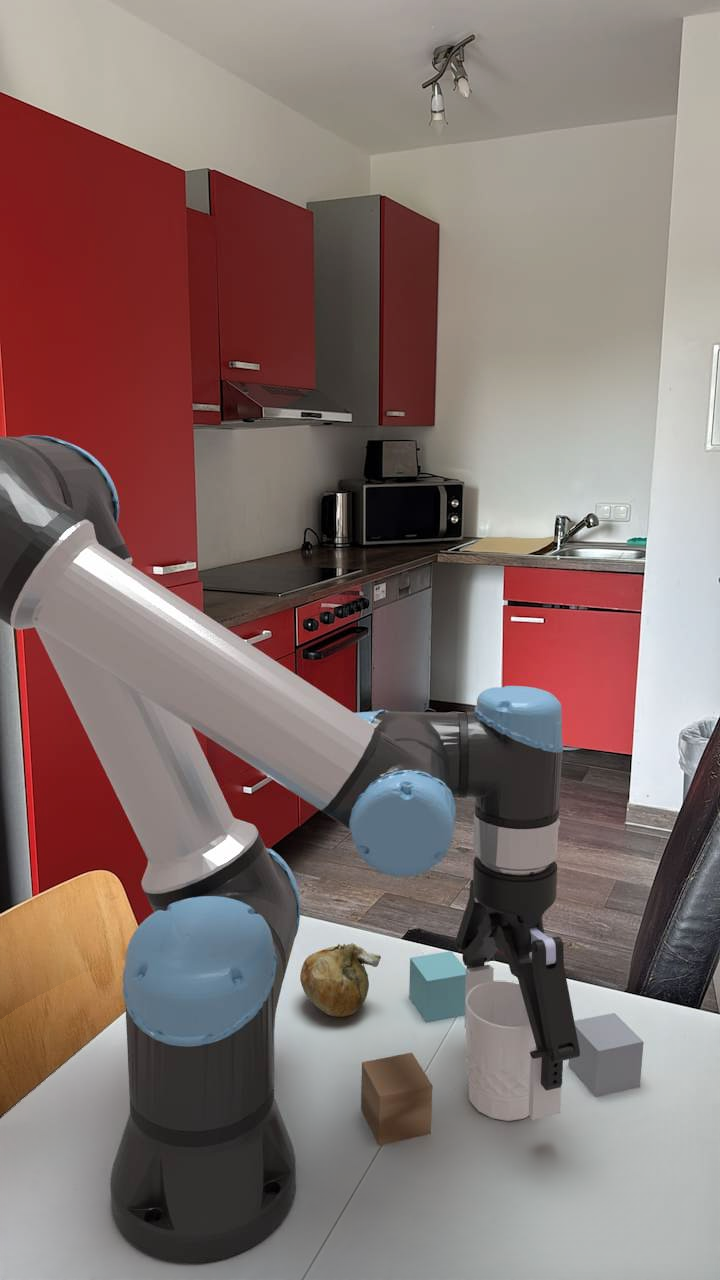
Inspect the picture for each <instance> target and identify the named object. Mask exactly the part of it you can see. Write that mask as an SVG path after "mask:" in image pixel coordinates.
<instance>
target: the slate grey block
mask: <svg viewBox="0 0 720 1280" xmlns="http://www.w3.org/2000/svg"><path fill="white" fill-rule="evenodd" d="M574 1022H575V1028H576V1033H577V1038H578V1044H579V1049H580V1056H579V1057H576V1058H572V1059H568V1067H569V1068H570V1069H571V1071H572V1072H573V1073H574V1074H575V1075H576V1076H577V1078H578V1079H579V1080H580V1081H581V1082H582V1083H583V1084H584V1085H585V1087H586V1089H588V1090H589V1092H590V1093H591V1094H592V1095H593V1096H594V1097H595V1098H597V1097H601V1096H605V1095H610V1094H615V1093H619V1092H623V1091H628V1090H632V1089H633V1090H634V1089H637V1088H640V1087H641V1076H642V1069H643V1068H642V1066H643V1055H644V1042H645V1041H644V1040H643V1039H642V1038H641V1037H640V1036H639V1035H637V1033H635V1031H634V1030H633V1029H632V1028H631V1027H629V1026H628V1025H627V1023H625V1022H624V1021H623V1020H622V1018H620V1017H619V1016H618V1015H617V1014H616V1013H615V1012H613V1013H608V1014H606V1013H605V1014H602V1015H597V1016H592V1017H591V1016H590V1017H587V1018H582V1019H577V1020H574Z"/></svg>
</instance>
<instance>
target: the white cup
mask: <svg viewBox="0 0 720 1280" xmlns="http://www.w3.org/2000/svg"><path fill="white" fill-rule="evenodd" d="M465 1005H466V1029H465V1057H466V1072H467V1092H468V1098H469V1099H468V1100H469V1101H470V1103H471V1104H472V1105H473V1107H474V1108H475V1109H476V1110H477V1111H478V1112H479V1113H481V1114H483V1115H485V1116H487V1117H489V1118H491V1119H495V1120H499V1121H506V1122H510V1121H518V1120H523V1119H526V1118H527V1117H530V1115H529V1087H530V1059H531V1055H530V1052H531V1048H534V1047H536V1044H535V1040H534V1036H533V1033H532V1029H531V1025H530V1022H529V1018H528V1014H527V1011H526V1007H525V1003H524V1000H523V996H522V992H521V989H520V985H519V981H518V982H517V981H513V980H502V979H501V980H493V981H489V982H485V983H482V984H479V985H477V986H475V987H473V988H472V989H471V990H470V991H469V992H468V994H467V996H466V1000H465Z"/></svg>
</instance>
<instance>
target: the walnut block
mask: <svg viewBox="0 0 720 1280" xmlns="http://www.w3.org/2000/svg"><path fill="white" fill-rule="evenodd" d="M360 1081H361V1083H360V1084H361V1085H360V1088H361V1089H360V1091H361V1092H360V1097H361V1098H360V1110H361V1113H362V1115H363V1116H364V1118H365V1120H366V1122H367V1124H368V1127H369V1129H370V1131H371V1132H372V1135H373V1137H374V1139H375V1141H376V1143H377V1145H378V1146H383V1145H388V1144H391V1143H392V1144H393V1143H397V1142H401V1141H406V1140H410V1139H414V1138H418V1137H423V1136H428V1135H431V1134H432V1114H433V1113H432V1110H433V1107H432V1106H433V1084H432V1082H431V1081H430V1079H429V1078H428V1076H427V1074H426V1072H425V1071H424V1069H423V1068H422V1066H421V1065H420V1063H419V1061H418V1059H417V1058H416V1057H415V1055H414V1053H413V1052H408V1053H402V1054H397V1055H396V1054H395V1055H391V1056H388V1057H387V1056H386V1057H382V1058H376V1059H373V1060H371V1059H370V1060H367V1061H362V1062H361V1080H360Z"/></svg>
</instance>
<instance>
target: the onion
mask: <svg viewBox="0 0 720 1280" xmlns="http://www.w3.org/2000/svg"><path fill="white" fill-rule="evenodd" d="M381 958H382V956H381V955H380V954H377V953H372V952H367V951H366V950H365V948H362V947H361V946H358V945H357V944H354V943H353V942H351V943H350V944H347V945H346V944H345V943H343V945H341V944H340V943H338V945H336V946H330V947H328V948H324V949H321V950H319V951H316V952H314V953H312V954H310V955H309V956H307V957H306V958H305V960H304V961H303V964H302V966H301V971H300V978H299V980H300V983H301V988H302V989H303V991H304V992H303V993H304V994H305V995H306V996H307V998H308V999H309V1000H310V1002H311V1003H313V1005H315V1006H316V1008H318V1009H320V1011H321V1012H323V1013H324V1014H326V1015H328V1016H331V1017H340V1018H341V1017H342V1018H343V1017H348V1016H350V1015H352V1014H355V1013H356V1012H357V1011H359V1009H360V1008H362V1006H363V1004H364V1003H365V1001H366V999H367V997H368V994H369V993H368V992H369V987H370V983H369V982H370V981H369V975H368V972H367V970H366V967H365V965H367V966H368V965H369V966H371V967H374V968H377V967H378V966H379V963H380V962H381Z"/></svg>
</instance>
